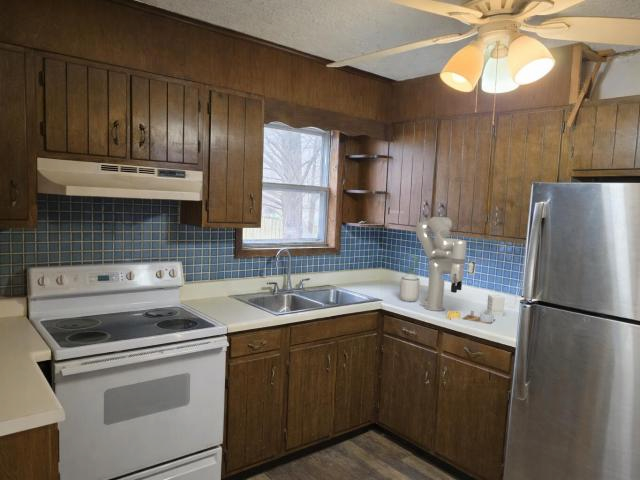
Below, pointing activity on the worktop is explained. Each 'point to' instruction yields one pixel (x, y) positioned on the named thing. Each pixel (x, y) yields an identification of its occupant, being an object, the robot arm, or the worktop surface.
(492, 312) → the supplement box
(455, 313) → the ochre gear
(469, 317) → the gear board
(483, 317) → the slate gear
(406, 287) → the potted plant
